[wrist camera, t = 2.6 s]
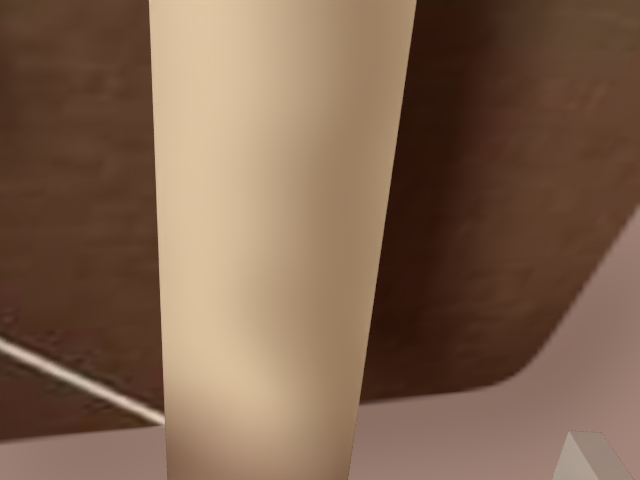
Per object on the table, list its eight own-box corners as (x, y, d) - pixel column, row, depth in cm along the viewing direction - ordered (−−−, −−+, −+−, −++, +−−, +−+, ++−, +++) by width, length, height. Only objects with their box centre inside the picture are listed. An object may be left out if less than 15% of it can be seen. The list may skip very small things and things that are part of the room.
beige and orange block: (220, 302, 24) (158, 515, 14) (229, -409, 15) (68, -1315, 5) (330, 309, 24) (349, 522, 14) (404, -385, 15) (606, -1187, 5)
